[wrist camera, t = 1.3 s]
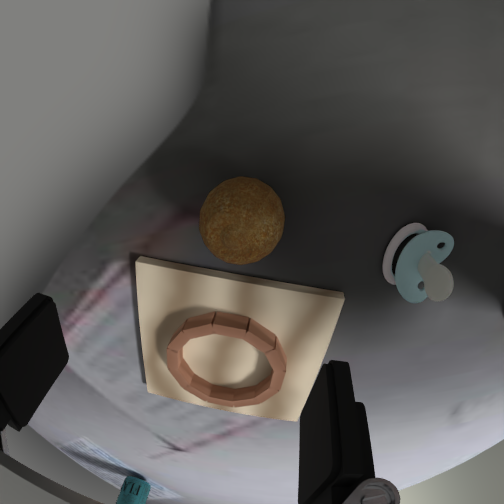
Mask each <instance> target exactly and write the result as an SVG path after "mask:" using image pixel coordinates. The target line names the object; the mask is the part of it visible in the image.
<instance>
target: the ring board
mask: <svg viewBox="0 0 504 504" xmlns="http://www.w3.org/2000/svg"><path fill="white" fill-rule="evenodd" d="M135 262H136V282H137V298H138V311H139V322H140V333H141V342H142V351H143V360H144V367H145V375H146V382H147V389H148V392H150V393H153V394H157V395H160V396H164V397H168V398H172V399H176V400H180V401H184V402H188V403H192V404H197V405H201V406H206V407H210V408H215V409H220V410H225V411H230V412H236V413H241V414H247V415H253V416H259V417H266V418H273V419H280V420H288V421H296V422H297V420H298V418H299V416H300V414H301V411H302V409H303V407H304V405H305V402H306V400H307V398H308V395H309V393H310V390H311V388H312V386H313V383H314V381H315V378H316V376H317V373H318V371H319V368H320V366H321V363H322V361H323V358H324V356H325V353H326V350H327V348H328V345H329V342H330V340H331V337H332V334H333V332H334V329H335V326H336V323H337V321H338V318H339V315H340V312H341V309H342V306H343V303H344V300H345V298H344V293H343V292H339V291H332V290H326V289H320V288H314V287H308V286H302V285H296V284H290V283H285V282H279V281H273V280H267V279H261V278H256V277H250V276H244V275H239V274H233V273H228V272H222V271H217V270H211V269H206V268H201V267H195V266H190V265H185V264H179V263H174V262H169V261H164V260H159V259H153V258H148V257H143V256H140V257H139V258H138V259H137V260H136V261H135Z"/></svg>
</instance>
